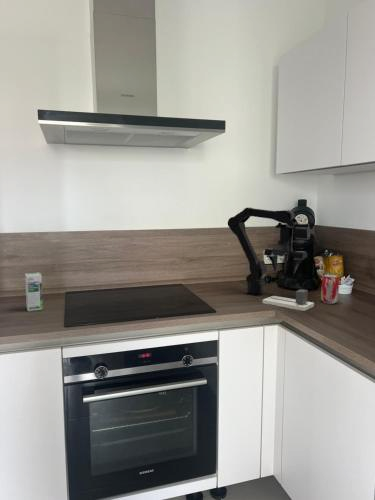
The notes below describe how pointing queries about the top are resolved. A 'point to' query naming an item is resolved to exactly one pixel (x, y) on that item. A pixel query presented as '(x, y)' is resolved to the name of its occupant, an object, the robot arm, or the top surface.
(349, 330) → the top surface
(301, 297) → the fader knob
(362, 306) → the top surface
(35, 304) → the syrup box
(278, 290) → the top surface
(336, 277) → the soda can
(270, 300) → the fader panel
